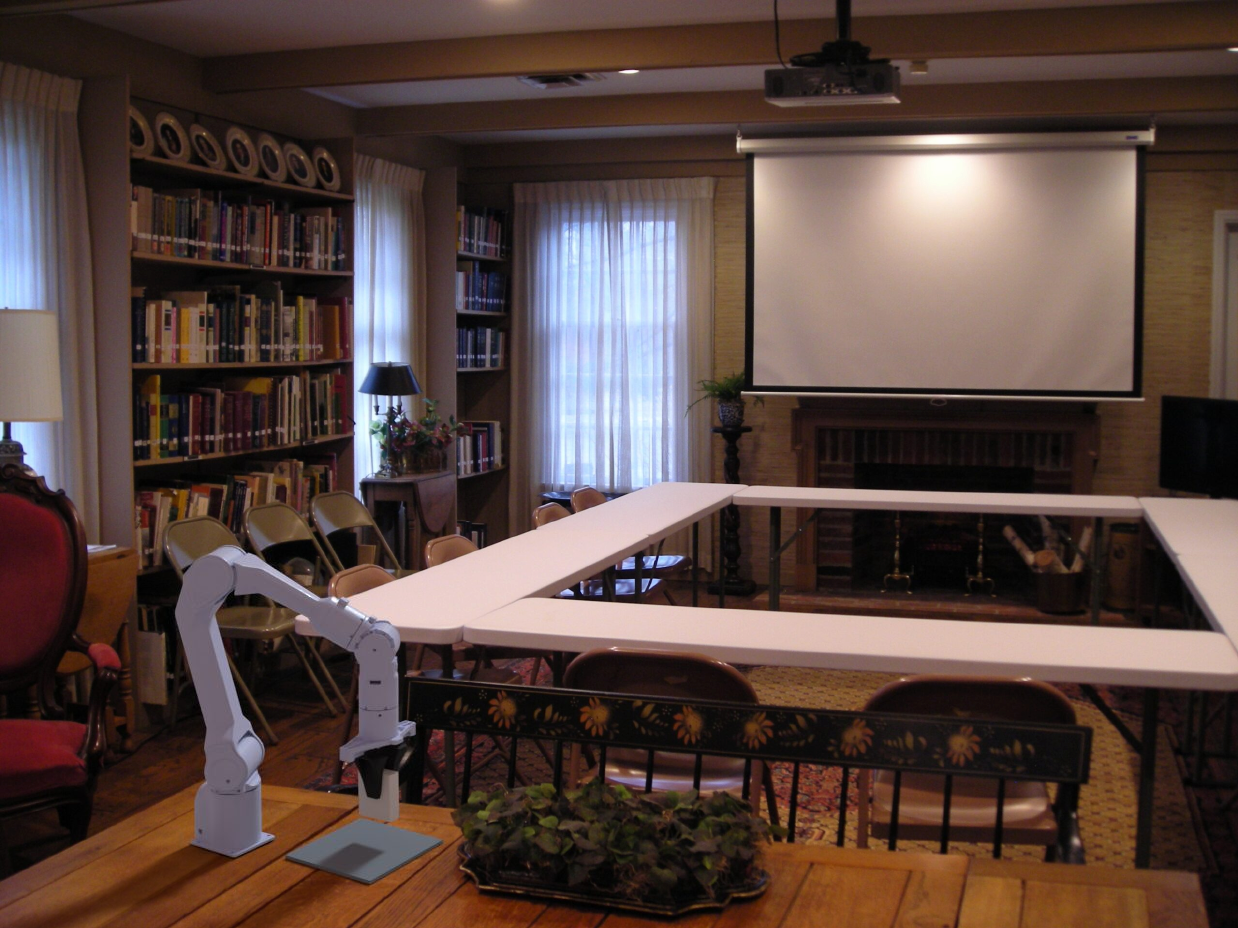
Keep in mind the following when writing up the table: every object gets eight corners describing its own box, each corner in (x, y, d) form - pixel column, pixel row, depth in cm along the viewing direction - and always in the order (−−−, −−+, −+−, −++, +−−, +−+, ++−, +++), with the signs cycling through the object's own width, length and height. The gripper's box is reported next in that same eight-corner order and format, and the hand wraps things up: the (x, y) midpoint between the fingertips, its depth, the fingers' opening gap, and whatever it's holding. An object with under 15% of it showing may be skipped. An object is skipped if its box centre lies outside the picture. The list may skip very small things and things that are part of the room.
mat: (285, 858, 168) (285, 854, 167) (361, 820, 181) (361, 817, 181) (370, 884, 160) (370, 880, 160) (442, 842, 174) (442, 839, 174)
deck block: (359, 814, 173) (358, 768, 173) (368, 809, 175) (367, 764, 175) (390, 822, 171) (389, 775, 170) (399, 817, 172) (398, 771, 172)
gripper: (365, 722, 163) (366, 816, 164) (431, 697, 176) (431, 784, 177) (328, 714, 166) (329, 806, 168) (395, 690, 179) (395, 775, 180)
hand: (379, 794), depth 172 cm, fingers closed on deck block, 2 cm apart
